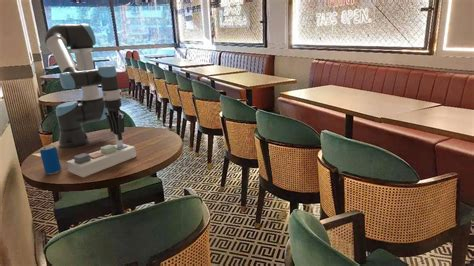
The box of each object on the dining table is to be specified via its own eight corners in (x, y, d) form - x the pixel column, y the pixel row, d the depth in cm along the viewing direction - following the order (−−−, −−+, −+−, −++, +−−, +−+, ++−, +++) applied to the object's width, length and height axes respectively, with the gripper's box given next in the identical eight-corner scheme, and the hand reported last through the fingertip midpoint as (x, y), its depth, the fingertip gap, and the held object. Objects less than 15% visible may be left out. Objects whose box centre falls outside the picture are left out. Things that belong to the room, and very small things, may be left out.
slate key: (113, 152, 163) (112, 147, 162) (122, 149, 167) (121, 144, 166) (119, 154, 160) (118, 148, 159) (128, 151, 164) (127, 145, 163)
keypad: (68, 171, 150) (66, 161, 148) (121, 152, 171) (120, 143, 170) (83, 177, 143) (80, 166, 141) (136, 156, 164) (134, 146, 163)
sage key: (101, 153, 158) (100, 147, 157) (110, 150, 161) (109, 144, 160) (107, 155, 155) (106, 149, 154) (116, 152, 158) (114, 146, 158)
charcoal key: (75, 162, 148) (73, 156, 147) (85, 159, 151) (83, 152, 150) (80, 164, 145) (79, 158, 144) (90, 161, 149) (89, 154, 148)
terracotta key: (89, 161, 153) (88, 155, 152) (98, 158, 157) (97, 152, 156) (95, 163, 150) (93, 157, 150) (104, 160, 154) (103, 154, 153)
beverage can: (49, 169, 153) (43, 145, 149) (63, 168, 154) (58, 144, 150) (42, 175, 147) (36, 150, 143) (57, 174, 147) (52, 149, 144)
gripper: (97, 99, 156) (105, 146, 163) (113, 101, 149) (121, 150, 156) (111, 96, 162) (118, 141, 169) (127, 98, 154) (134, 145, 162)
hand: (119, 145), depth 163 cm, fingers closed
